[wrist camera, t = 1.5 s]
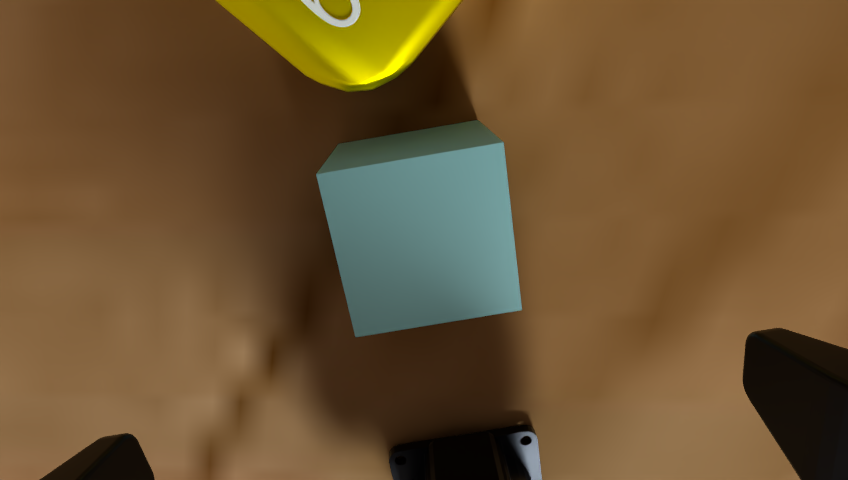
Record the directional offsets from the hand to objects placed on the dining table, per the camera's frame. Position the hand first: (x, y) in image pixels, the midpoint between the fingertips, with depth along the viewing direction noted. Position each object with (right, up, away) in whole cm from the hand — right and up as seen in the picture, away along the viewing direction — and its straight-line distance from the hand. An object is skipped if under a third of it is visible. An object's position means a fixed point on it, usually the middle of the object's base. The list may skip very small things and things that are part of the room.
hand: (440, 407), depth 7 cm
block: (0, +4, +12) cm, 12 cm away
